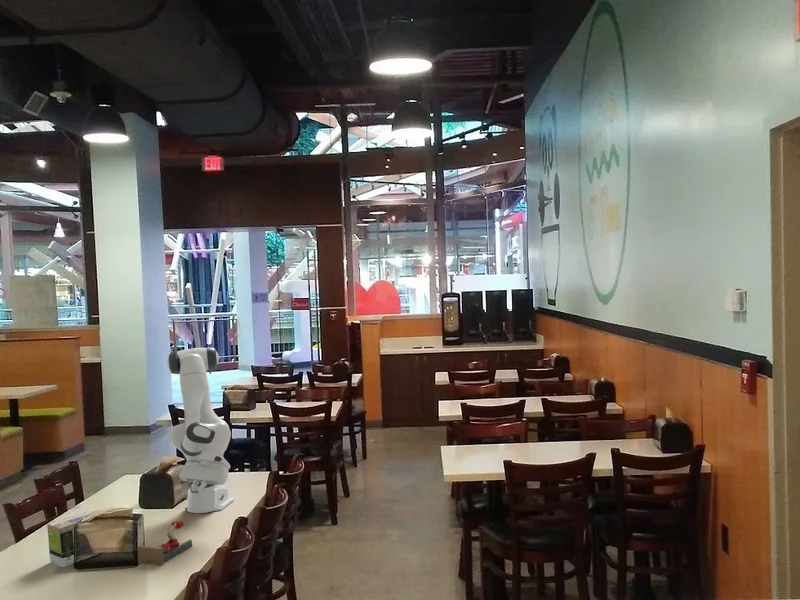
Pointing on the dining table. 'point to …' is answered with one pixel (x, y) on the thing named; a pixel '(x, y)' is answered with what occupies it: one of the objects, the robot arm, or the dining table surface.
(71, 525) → the tea box
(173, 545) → the red beige jointed figure
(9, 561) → the dining table surface
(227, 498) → the robot arm
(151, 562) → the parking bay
